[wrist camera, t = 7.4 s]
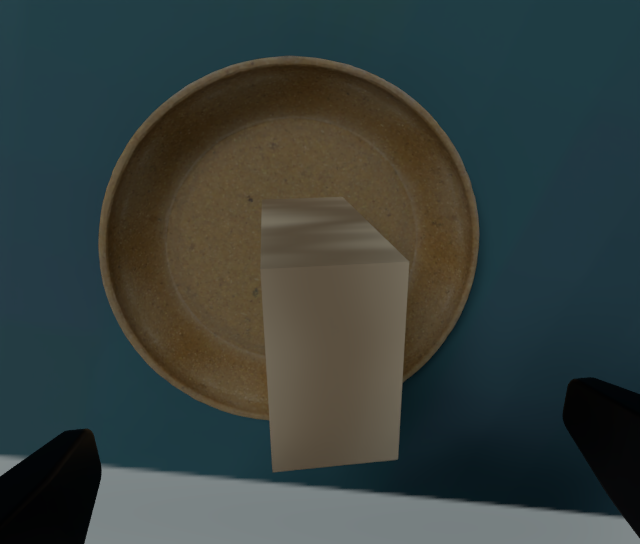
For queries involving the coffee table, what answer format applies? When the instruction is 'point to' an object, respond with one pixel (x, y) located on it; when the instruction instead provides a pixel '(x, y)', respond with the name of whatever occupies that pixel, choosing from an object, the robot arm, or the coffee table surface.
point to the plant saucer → (246, 211)
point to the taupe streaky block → (331, 334)
